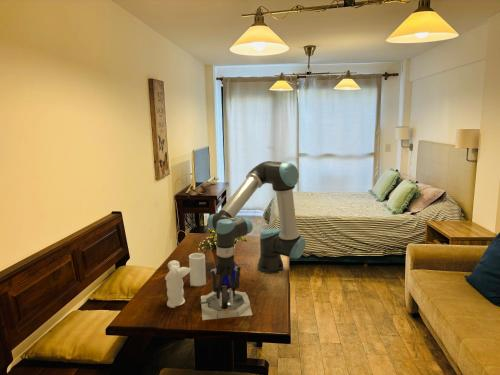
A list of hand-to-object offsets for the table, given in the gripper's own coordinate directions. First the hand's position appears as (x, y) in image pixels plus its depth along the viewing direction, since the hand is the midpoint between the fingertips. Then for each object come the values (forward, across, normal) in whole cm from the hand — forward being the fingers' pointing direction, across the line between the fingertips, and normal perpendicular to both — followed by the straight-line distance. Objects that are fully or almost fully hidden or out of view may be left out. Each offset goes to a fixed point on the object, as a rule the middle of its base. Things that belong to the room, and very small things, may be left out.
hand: (225, 303), depth 163 cm
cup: (+5, -6, +33) cm, 34 cm away
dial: (+4, +1, +5) cm, 7 cm away
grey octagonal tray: (+5, +1, +5) cm, 7 cm away
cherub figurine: (+5, -18, +16) cm, 25 cm away
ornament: (+5, +9, +26) cm, 28 cm away
